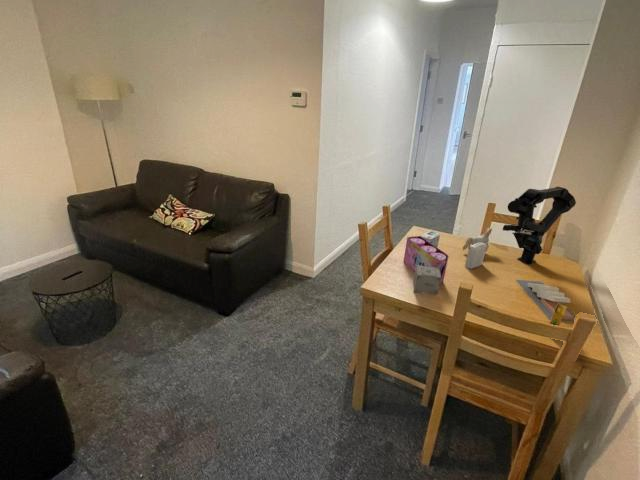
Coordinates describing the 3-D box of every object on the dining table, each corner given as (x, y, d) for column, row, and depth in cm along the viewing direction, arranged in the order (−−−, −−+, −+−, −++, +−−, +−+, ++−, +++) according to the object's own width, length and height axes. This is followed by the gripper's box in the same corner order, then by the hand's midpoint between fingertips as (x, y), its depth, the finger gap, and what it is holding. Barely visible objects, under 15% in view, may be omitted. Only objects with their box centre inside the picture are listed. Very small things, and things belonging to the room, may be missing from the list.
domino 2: (532, 287, 148) (549, 291, 136) (546, 288, 148) (564, 293, 136) (532, 291, 148) (548, 295, 136) (546, 292, 148) (564, 297, 136)
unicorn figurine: (493, 251, 186) (500, 228, 180) (471, 258, 176) (477, 235, 171) (482, 246, 192) (488, 224, 186) (460, 253, 182) (465, 230, 176)
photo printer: (475, 261, 173) (481, 239, 168) (483, 265, 170) (489, 242, 165) (463, 266, 168) (468, 243, 163) (470, 270, 165) (476, 247, 160)
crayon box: (554, 337, 121) (565, 311, 116) (545, 333, 123) (555, 307, 118) (558, 328, 126) (568, 302, 121) (548, 324, 128) (559, 299, 123)
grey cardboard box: (413, 294, 143) (417, 272, 139) (412, 283, 151) (416, 263, 147) (437, 297, 142) (442, 275, 138) (435, 286, 149) (439, 266, 145)
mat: (515, 280, 157) (515, 279, 157) (541, 282, 157) (541, 281, 157) (548, 320, 130) (549, 319, 130) (581, 323, 129) (581, 322, 129)
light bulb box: (425, 248, 186) (429, 230, 182) (437, 252, 182) (440, 233, 177) (415, 253, 179) (418, 235, 175) (427, 258, 175) (430, 239, 170)
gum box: (445, 284, 152) (451, 257, 146) (430, 286, 150) (436, 259, 144) (416, 259, 173) (420, 235, 167) (402, 261, 170) (406, 237, 165)
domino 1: (527, 282, 152) (543, 286, 140) (541, 284, 152) (558, 287, 140) (527, 286, 152) (543, 290, 140) (541, 287, 152) (558, 291, 140)
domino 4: (541, 297, 141) (557, 315, 130) (556, 299, 141) (573, 316, 130) (540, 300, 142) (555, 318, 131) (555, 302, 141) (571, 320, 130)
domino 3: (536, 292, 145) (554, 297, 133) (551, 293, 144) (570, 298, 132) (536, 296, 145) (554, 301, 133) (551, 297, 144) (570, 302, 132)
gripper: (523, 212, 150) (517, 247, 151) (556, 218, 155) (551, 252, 155) (504, 212, 161) (499, 245, 161) (536, 218, 165) (531, 250, 166)
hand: (520, 248), depth 161 cm, fingers closed
